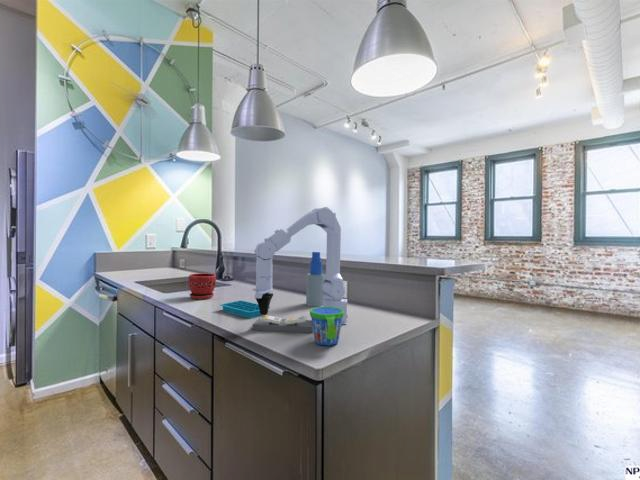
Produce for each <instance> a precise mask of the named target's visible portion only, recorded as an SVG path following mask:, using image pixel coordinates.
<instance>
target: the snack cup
mask: <svg viewBox="0 0 640 480" xmlns="http://www.w3.org/2000/svg"><path fill="white" fill-rule="evenodd" d="M309 315H310V318H311V320H312V326H313V331H312V333H313V340H314V342H315V343H316V344H317V345H320V346H328V347H329V346H335V345H336V344H339V340H340V333H341V330H342V329H341V328H342V324H341V323H342V317H343V315H344V311H343V310H342V309H340V308H336V307H323V306H318V307H313V308H311V309H310V311H309Z"/></svg>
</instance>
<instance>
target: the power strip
mask: <svg viewBox="0 0 640 480" xmlns="http://www.w3.org/2000/svg"><path fill="white" fill-rule="evenodd" d="M281 319H282V320H281V322H280V323H279V324H276V323H272V322H268V321H264V320H260V317H259V318H257V320H255V321H254V322H253V323H252V324H251V325H252V327H251V328H252V331H265V332H266V331H267V332H268V331H269V332H287V333H292V332H293V333H307V334H308V333H309V334H312V333H313V326H312V319H306V321H305V322H299V323H292V324H286V325H285V321H286V320H287V319H288V318H281Z"/></svg>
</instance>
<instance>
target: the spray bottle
mask: <svg viewBox="0 0 640 480" xmlns="http://www.w3.org/2000/svg"><path fill="white" fill-rule="evenodd" d="M325 274H326V273H323V261H322V260H321V251H320V252H319V251H312V252H311V259H310V261H309V273H306V285H305V286H306V289H305V291H306V294H305V296H306V297H305V298H306V299H305V301H306V302H305V303H306V304H305V305H307V306H309V307H313V308H316V307H323V302H324V293H323V292H322V290H321V285H322V283H323V280H324V276H325Z"/></svg>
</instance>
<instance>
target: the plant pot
mask: <svg viewBox="0 0 640 480" xmlns="http://www.w3.org/2000/svg"><path fill="white" fill-rule="evenodd" d="M216 283H217V274H215V273H205V272H204V273H190V274H189V275H188V286H189V290H190V292H191V293H189V297H190V298H191V299H193V300H206V299H211V298H212V297H213V296H214V295H215V293H213V292H214V291H215V288H216V285H217V284H216Z"/></svg>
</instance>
